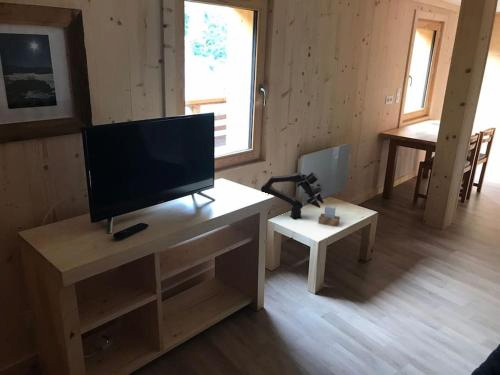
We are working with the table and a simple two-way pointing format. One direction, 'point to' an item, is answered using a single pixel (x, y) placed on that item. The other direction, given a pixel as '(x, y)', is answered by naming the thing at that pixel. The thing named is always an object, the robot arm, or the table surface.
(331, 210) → the cover plate
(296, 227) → the table surface
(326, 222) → the slotted case
